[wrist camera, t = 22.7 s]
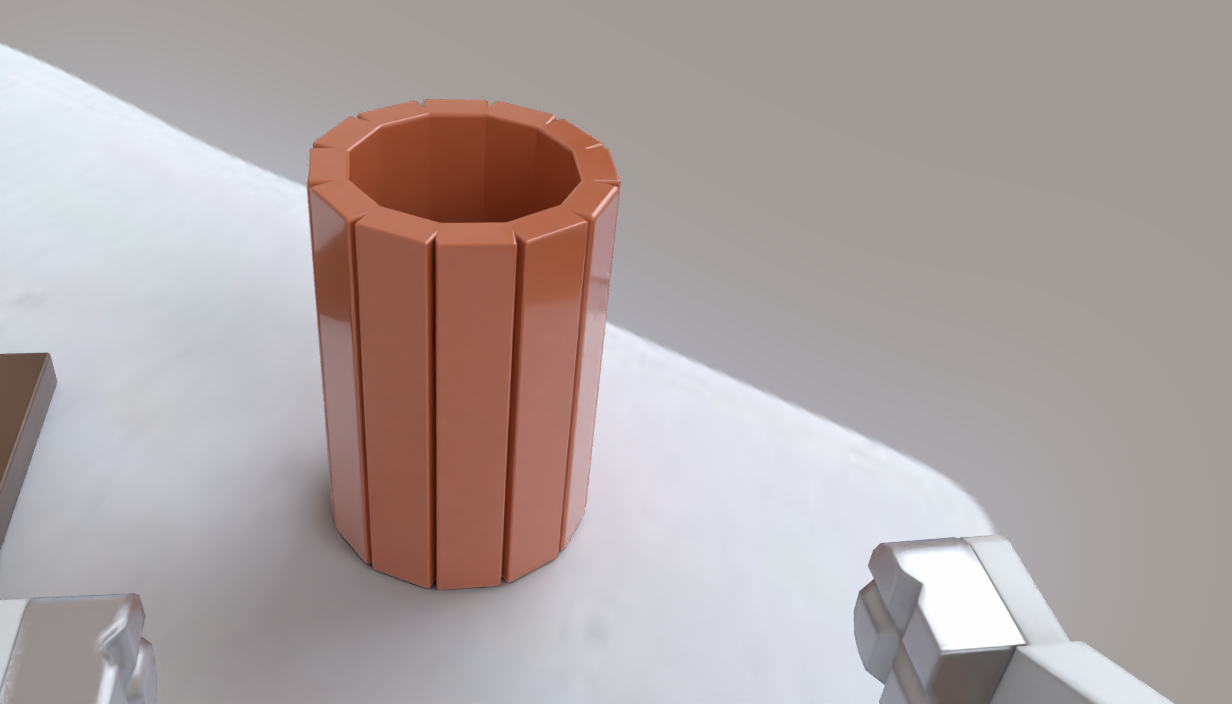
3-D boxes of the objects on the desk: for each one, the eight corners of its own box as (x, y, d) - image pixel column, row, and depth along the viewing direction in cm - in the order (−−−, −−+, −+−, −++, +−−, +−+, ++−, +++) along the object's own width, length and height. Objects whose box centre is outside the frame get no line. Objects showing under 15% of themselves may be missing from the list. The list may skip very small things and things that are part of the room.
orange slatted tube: (330, 598, 25) (300, 246, 19) (335, 420, 29) (312, 95, 24) (601, 579, 26) (643, 242, 21) (565, 410, 31) (592, 99, 25)
